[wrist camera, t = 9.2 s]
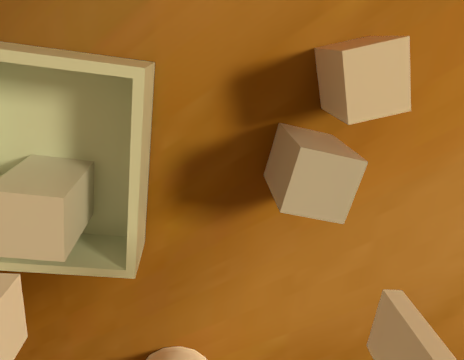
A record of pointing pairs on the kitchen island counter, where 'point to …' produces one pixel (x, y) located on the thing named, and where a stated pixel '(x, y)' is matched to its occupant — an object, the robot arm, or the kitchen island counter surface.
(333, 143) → the stone
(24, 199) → the stone
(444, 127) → the kitchen island counter surface
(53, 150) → the bin
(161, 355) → the foam cup
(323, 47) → the stone
